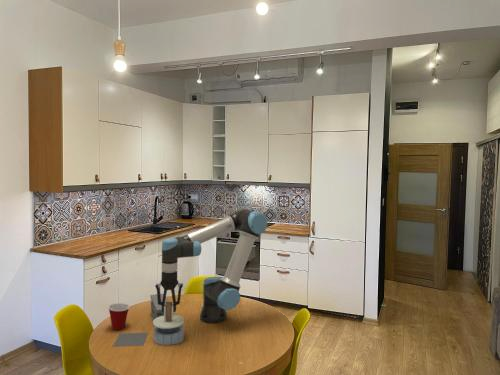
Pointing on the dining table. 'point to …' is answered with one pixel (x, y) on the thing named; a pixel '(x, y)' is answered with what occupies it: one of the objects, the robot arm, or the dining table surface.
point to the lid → (168, 319)
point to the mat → (130, 339)
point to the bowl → (169, 335)
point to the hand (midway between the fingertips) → (168, 318)
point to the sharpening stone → (156, 306)
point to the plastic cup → (118, 315)
